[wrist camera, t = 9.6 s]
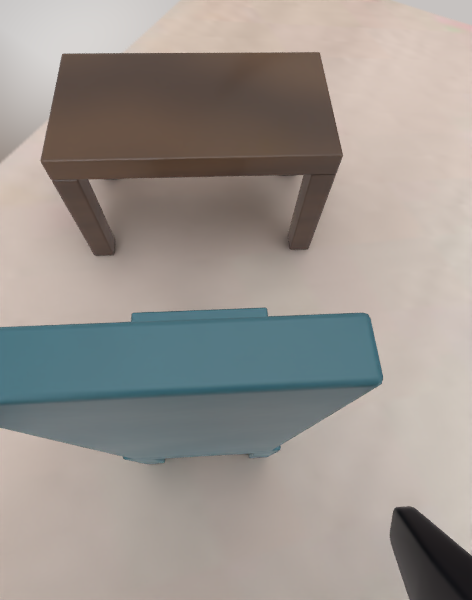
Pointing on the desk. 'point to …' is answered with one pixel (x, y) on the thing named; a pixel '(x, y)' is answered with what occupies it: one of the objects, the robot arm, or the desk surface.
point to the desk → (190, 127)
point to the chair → (185, 380)
